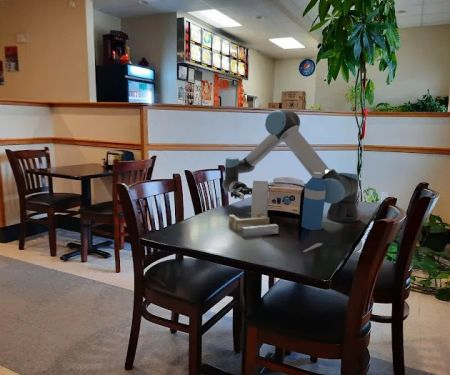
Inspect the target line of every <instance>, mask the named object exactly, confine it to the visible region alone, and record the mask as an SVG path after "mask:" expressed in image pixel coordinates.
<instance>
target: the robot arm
mask: <svg viewBox="0 0 450 375" xmlns="http://www.w3.org/2000/svg"><path fill="white" fill-rule="evenodd" d="M264 125H265V130H266V132H267V133H268V135H267V136H266V137H265V138H264V139H263V140H262V141H261V142H260V143H259V144H258V145H257V146H256V147H254V149H252V151H250V152H249V153H248V154H246V156H245V157H244V158H243V159H241V160H240V159H239V158H238V157H227V158H226V159H225V165H224V167H225V168H224V172H225V173H224V174H225V176H224V180H222V188H223V190H225V191H226V192H228V193H230V198H234V199H239V200H241V201H244V200H245V196H247V195H249V196H252V187H248V186H247V184H245V183H244V182H242V181H240V180H239V177H240V176H239V174H244V173H245V174H246V173H251V172H252V171H254V170H255V168H256V166H257V165H258V164H259V163H260V162H261V161H262V160H264V159H265V158H266V157H267V156H268V155H269V154H270V153H271V152H272V151H274V150H275V149H276V148H277V147H278V146H279V145H280V144H282V143H284V144H285V145H286V147H288V148H289V150H290V151H291V152H292V153H293V155H294V156H295V157H296V159H297V160H298V162H299V163H300V164H301V165H302V166H303V167H304V169H305V170H306V171H307V172H308V174H309V175H310V177H312V174H313V172H320V173H322V179H323V181H324V182H325V184H326V193H325V202H324V203H326V204H330V206H329V207H328V210H327V213H326V218H327V219H328V220H330V221H331V220H332V221H335V222H339V223H340V222H343V223H355V222H358V221H359V218H360V217H359V216H360V215H359V211H358V207H357V199H358V188H359V186H358V185H359V175H358V174H356V173H351V172H350V173H349V172H339V171H336V170H335V169H334V168H330V167H328V165H327V164H326V163H325V162H324V160H323V159H322V158H321V157H320V156H319V154H318V153H317V152H316V151H315V150H314V148H313V147H312V146H311V144H310V143H309V142H308V141H307V140H306V138H305V137H304V136H303V134H301V132H300V131H299V130H300V126H301V119H300V116H299V115H298V114H297V113H295V112H294V111H291V110H279V109H277V110H273V111H271V112H269V114H268V115H267V116H266V118H265V124H264ZM269 198H270V192H268V199H269Z"/></svg>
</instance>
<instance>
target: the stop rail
mask: <svg viewBox="0 0 450 375" xmlns="http://www.w3.org/2000/svg"><path fill="white" fill-rule="evenodd" d="M276 234H279V225H278V224H276V223H272V224H271V223H270V224H269V225H260V226H250V227H242V232H241V236H242V237H244V238H248V237H256V236H257V237H258V236H267V235H276Z"/></svg>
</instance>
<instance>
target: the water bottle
mask: <svg viewBox="0 0 450 375" xmlns="http://www.w3.org/2000/svg"><path fill="white" fill-rule="evenodd" d="M325 193H326V184H325V182H324V181H323V179H322V173H320V172H313V174H312V176H311V178H310V179H309V180H308V181H307V182H306V183H305V187H304V195H303V196H304V197H303V205H302V206H303V208H302V217H301V218H302V219H301V226H300V227H302V228H304V229H306V230H312V231H318V230H319V231H320V230H321V229H322V227H323V217H324V212H325V210H324V208H325V203H326V202H325Z"/></svg>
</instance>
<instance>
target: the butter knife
mask: <svg viewBox="0 0 450 375" xmlns="http://www.w3.org/2000/svg"><path fill="white" fill-rule="evenodd" d="M322 245H323V243H322V242H317V243H314V244H313V245H311V246H309V247H308V248H306V249H303V251H302V252H303V253H307V252H309V251H311V250H313V249H316V248H318V247H321V246H322Z"/></svg>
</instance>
